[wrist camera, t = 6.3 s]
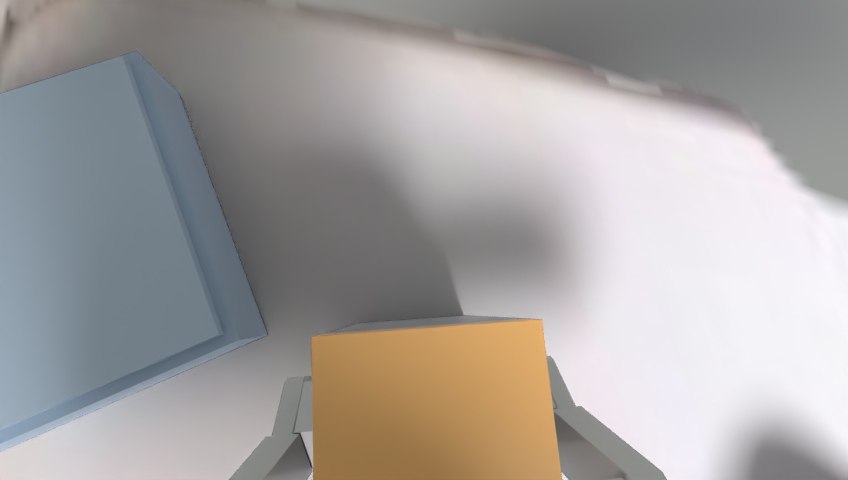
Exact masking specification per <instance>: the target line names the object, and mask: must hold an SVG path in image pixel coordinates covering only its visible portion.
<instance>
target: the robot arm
mask: <svg viewBox="0 0 848 480" xmlns="http://www.w3.org/2000/svg"><path fill="white" fill-rule="evenodd" d="M546 357H547V365H548V373H549V380H550V388H551V396H552V404H553V412H554V420H555V427H556V435H557V443H558V451H559V459H560V467H561V472H562V473H563V474H564V475H565V476H566V477H567V478H568V479H569V480H667V479H666V477H665V476H664V474H663V472H662V471H661V470H659V469H658V468H657V467H656V466H655V465H653V464H652V463H651V462H650V461H648V460H647V459H646V458H645V457H643V456H642V455H641V454H640V453H638V452H637V451H636V450H635V449H633V448H632V447H631V446H630V445H629V444H627V443H626V442H625V441H624V440H622V439H621V438H620V437H619V436H617V435H616V434H615V433H614V432H612V431H611V430H610V429H609V428H607V427H606V426H605V425H604V424H603V423H601V422H600V421H599V420H598V419H596V418H595V417H594V416H593V415H591V414H590V413H589V412H588V411H586V410H585V409H584V408H583V407H582V406H576V405H575V403H574V401H573V399H572V397H571V395H570V393H569V391H568V389H567V386H566V384H565V382H564V380H563V378H562V376H561V374H560V372H559V370H558V368H557V365H556V363H555V361H554V359H553V358H552V357H551V356H546ZM312 469H313V417H312V376H304V377H293V378H287V380H286V382H285V384H284V387H283V391H282V395H281V400H280V404H279V408H278V412H277V416H276V420H275V424H274V428H273V432H272V436H268V437H265V439H264V440H263V441H262V442H261V443H260V444H259V445H258V447H257V448H256V449H255V450H254V451H253V452H252V454H251V455H250V456H249V457H248V458H247V459H246V461H245V462H244V463H243V464H242V465H241V466H240V468H239V469H238V470H237V471H236V472H235V473H234V475H233V476H232V477H231V478H230V479H229V480H307V479H308V477H309V476H310V474H311V473H312Z"/></svg>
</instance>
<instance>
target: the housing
mask: <svg viewBox="0 0 848 480" xmlns="http://www.w3.org/2000/svg"><path fill="white" fill-rule="evenodd" d="M311 348H312V417H313V480H562V474H561V467H560V459H559V451H558V443H557V435H556V427H555V420H554V412H553V404H552V396H551V388H550V380H549V373H548V365H547V357H546V349H545V341H544V333H543V325H542V319H526V318H507V317H488V316H468V315H460V316H447V317H434V318H420V319H407V320H393V321H380V322H366V323H358V324H355V325H351V326H348V327H344V328H341V329H337V330H334V331H330V332H327V333H323V334H320V335H316V336H313V337H311Z"/></svg>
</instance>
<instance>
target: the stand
mask: <svg viewBox="0 0 848 480" xmlns="http://www.w3.org/2000/svg"><path fill="white" fill-rule="evenodd" d="M266 335H268V334H267V331H266V329H265V326H264V323H263V321H262V318H261V315H260V312H259V310H258V307H257V304H256V302H255V299H254V296H253V293H252V291H251V288H250V285H249V283H248V280H247V277H246V274H245V272H244V269H243V266H242V264H241V261H240V258H239V255H238V253H237V250H236V247H235V245H234V242H233V239H232V236H231V234H230V231H229V228H228V225H227V223H226V220H225V217H224V215H223V212H222V209H221V206H220V204H219V201H218V198H217V196H216V193H215V190H214V187H213V185H212V182H211V179H210V177H209V174H208V171H207V168H206V166H205V163H204V160H203V158H202V155H201V152H200V149H199V147H198V144H197V141H196V139H195V136H194V133H193V130H192V128H191V125H190V122H189V119H188V117H187V114H186V111H185V109H184V106H183V103H182V100H181V98H180V95H179V92H178V91H177V90H176V89H175V88H174V87H173V86H172V85H171V84H170V83H169V82H168V81H167V80H166V79H165V78H164V77H163V76H162V75H161V74H160V73H159V72H158V71H157V70H156V69H155V68H154V67H153V66H152V65H151V64H150V63H149V62H148V61H147V60H146V59H145V58H144V57H143V56H142V55H141V54H140V53H139V52H138V51H134V52H131V53H128V54H125V55H122V56H118V57H115V58H112V59H109V60H106V61H102V62H99V63H96V64H93V65H90V66H86V67H83V68H80V69H77V70H74V71H70V72H67V73H64V74H61V75H58V76H54V77H51V78H48V79H45V80H42V81H39V82H35V83H32V84H29V85H26V86H23V87H19V88H16V89H13V90H10V91H7V92H3V93H0V452H1V451H3V450H6V449H8V448H10V447H13V446H15V445H17V444H19V443H22V442H24V441H26V440H29V439H31V438H33V437H35V436H38V435H40V434H42V433H44V432H47V431H49V430H51V429H54V428H56V427H58V426H60V425H63V424H65V423H67V422H70V421H72V420H74V419H76V418H79V417H81V416H83V415H86V414H88V413H90V412H92V411H95V410H97V409H99V408H102V407H104V406H106V405H108V404H111V403H113V402H115V401H118V400H120V399H122V398H124V397H127V396H129V395H131V394H134V393H136V392H138V391H140V390H143V389H145V388H147V387H150V386H152V385H154V384H156V383H159V382H161V381H163V380H166V379H168V378H170V377H172V376H175V375H177V374H179V373H182V372H184V371H186V370H188V369H191V368H193V367H195V366H198V365H200V364H202V363H204V362H207V361H209V360H211V359H214V358H216V357H218V356H220V355H223V354H225V353H227V352H230V351H232V350H234V349H236V348H239V347H241V346H243V345H246V344H248V343H250V342H252V341H255V340H257V339H259V338H262V337H264V336H266Z"/></svg>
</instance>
